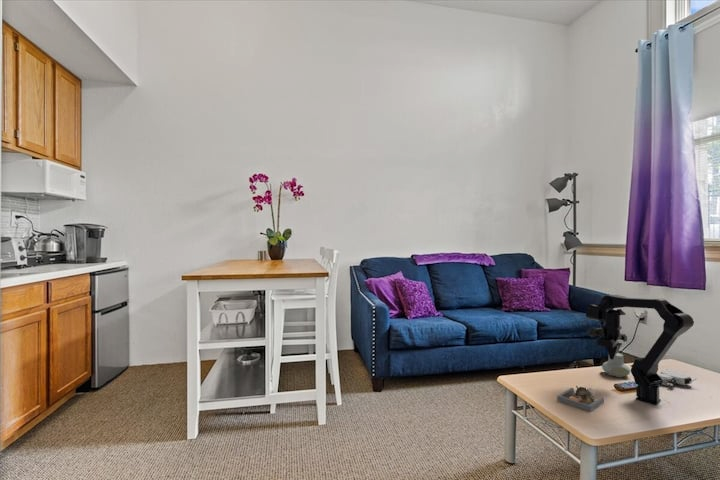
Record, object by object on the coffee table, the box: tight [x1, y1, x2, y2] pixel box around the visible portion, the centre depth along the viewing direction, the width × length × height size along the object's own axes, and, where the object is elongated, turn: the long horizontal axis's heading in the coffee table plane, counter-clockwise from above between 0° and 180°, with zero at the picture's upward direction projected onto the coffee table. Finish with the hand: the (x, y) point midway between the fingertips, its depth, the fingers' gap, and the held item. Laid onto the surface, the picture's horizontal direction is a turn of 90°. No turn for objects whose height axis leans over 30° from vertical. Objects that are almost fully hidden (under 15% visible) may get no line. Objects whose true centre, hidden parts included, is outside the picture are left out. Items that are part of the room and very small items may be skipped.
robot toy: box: [657, 368, 698, 387], centre depth 164 cm, size 12×4×15 cm
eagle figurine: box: [574, 385, 596, 405], centre depth 144 cm, size 8×7×9 cm
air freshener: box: [601, 352, 631, 378], centre depth 174 cm, size 11×8×10 cm
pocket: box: [556, 387, 605, 413], centre depth 145 cm, size 12×13×3 cm
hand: (611, 359), depth 160 cm, fingers closed
